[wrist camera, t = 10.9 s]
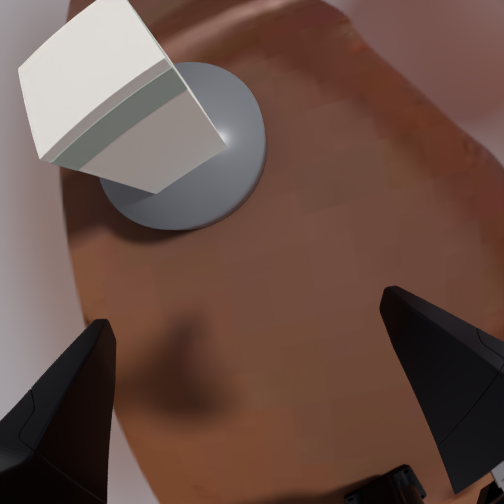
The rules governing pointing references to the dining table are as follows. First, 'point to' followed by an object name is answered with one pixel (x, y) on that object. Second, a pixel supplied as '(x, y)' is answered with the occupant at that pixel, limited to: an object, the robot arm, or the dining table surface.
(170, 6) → the dining table surface
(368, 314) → the dining table surface
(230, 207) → the grey dome
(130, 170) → the carton
